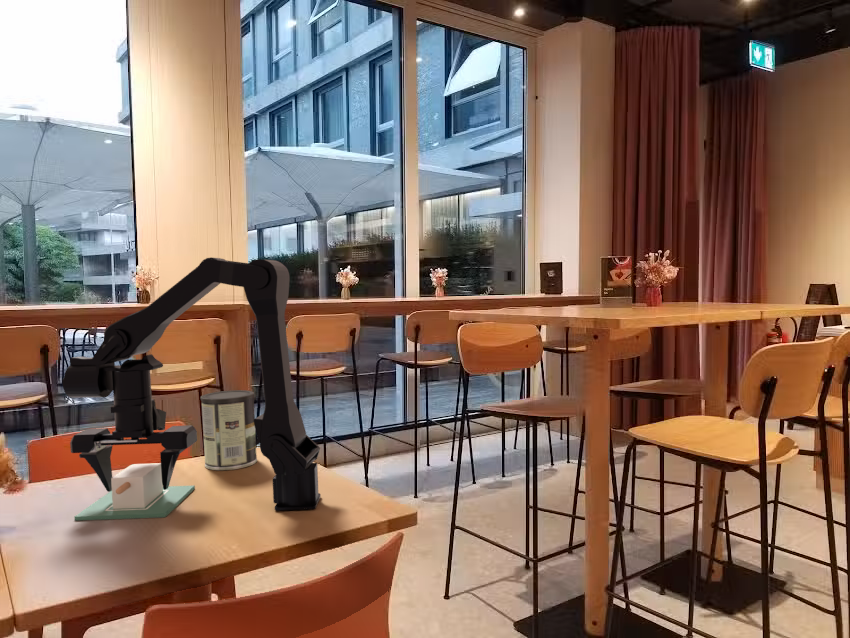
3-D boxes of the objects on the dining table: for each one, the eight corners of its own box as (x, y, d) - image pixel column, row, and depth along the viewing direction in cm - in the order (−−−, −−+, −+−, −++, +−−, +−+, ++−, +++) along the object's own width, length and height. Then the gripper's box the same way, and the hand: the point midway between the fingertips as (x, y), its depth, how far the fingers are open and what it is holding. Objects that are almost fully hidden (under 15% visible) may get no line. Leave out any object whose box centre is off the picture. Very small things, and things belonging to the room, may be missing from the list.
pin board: (194, 488, 116) (194, 473, 116) (165, 517, 102) (164, 499, 102) (115, 491, 116) (114, 475, 116) (74, 520, 102) (73, 502, 102)
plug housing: (163, 491, 113) (161, 463, 113) (135, 515, 102) (133, 483, 101) (133, 492, 113) (132, 464, 113) (102, 516, 101) (100, 485, 101)
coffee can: (238, 454, 139) (235, 388, 139) (267, 461, 133) (264, 392, 132) (193, 465, 132) (190, 395, 131) (222, 473, 125) (219, 400, 124)
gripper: (205, 387, 116) (209, 473, 117) (98, 390, 116) (104, 477, 117) (183, 398, 105) (188, 494, 106) (65, 402, 105) (71, 498, 106)
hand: (138, 489), depth 109 cm, fingers open, 9 cm apart
